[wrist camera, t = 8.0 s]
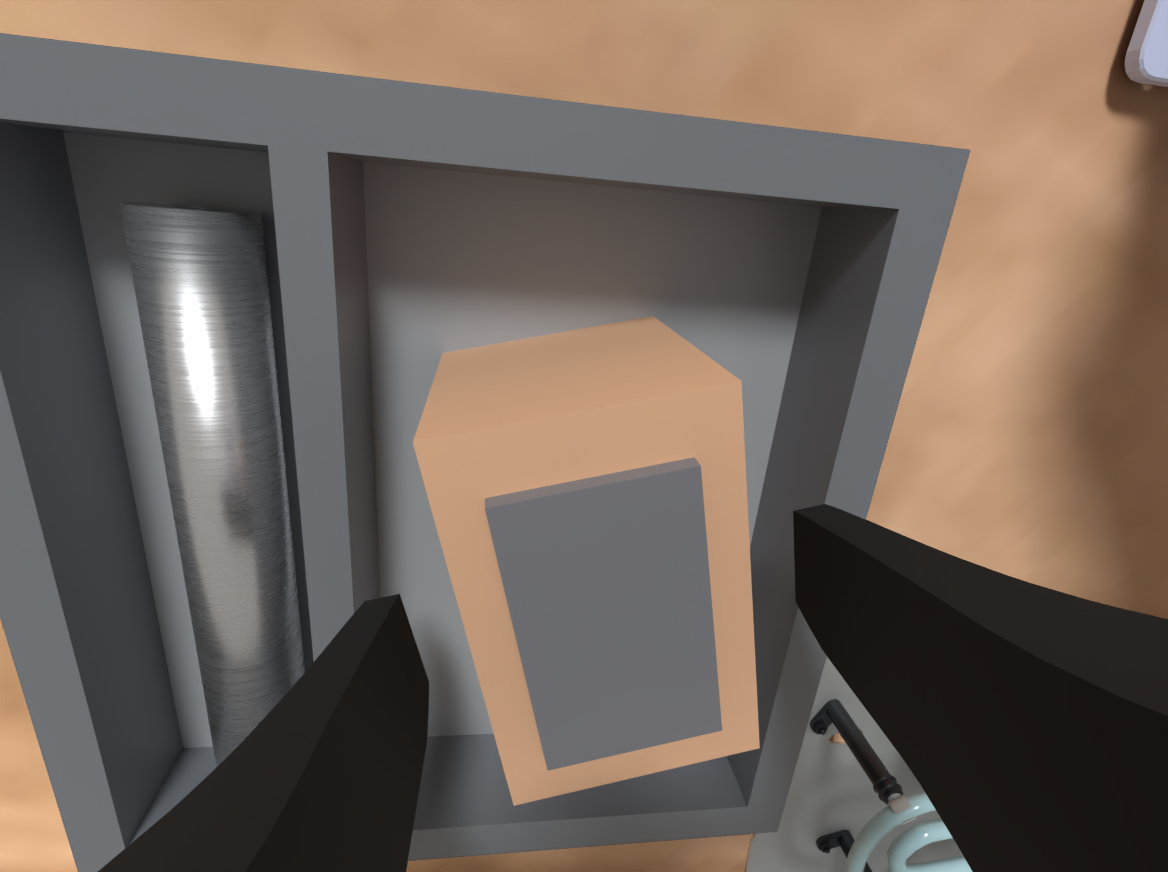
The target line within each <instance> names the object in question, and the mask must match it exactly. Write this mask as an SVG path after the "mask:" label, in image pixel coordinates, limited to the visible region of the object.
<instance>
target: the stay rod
mask: <svg viewBox="0 0 1168 872" xmlns="http://www.w3.org/2000/svg"><path fill="white" fill-rule="evenodd" d="M120 207H121V213H122V219H123V225H124V231H125V236H126V242H127V248H128V254H129V260H130V266H131V271H132V277H133V283H134V289H135V295H136V301H137V306H138V312H139V318H140V324H141V330H142V336H143V341H144V347H145V353H146V359H147V365H148V371H149V376H150V382H151V388H152V394H153V400H154V406H155V411H156V417H157V423H158V429H159V435H160V441H161V446H162V452H163V458H164V464H165V470H166V476H167V481H168V487H169V493H170V499H171V505H172V511H173V516H174V522H175V528H176V534H177V540H178V546H179V551H180V557H181V563H182V569H183V575H184V581H185V586H186V592H187V598H188V604H189V610H190V616H191V622H192V627H193V633H194V639H195V645H196V651H197V657H198V662H199V668H200V674H201V680H202V686H203V692H204V697H205V703H206V709H207V715H208V721H209V727H210V732H211V738H212V744H213V750H214V756H215V762H216V766H218V765H219V764H220V763H222V762H223V761H224V760H225V759H226V758H227V757H228V756H229V755H230V754H231V753H232V752H233V751H234V750H235V749H236V748H237V747H238V746H239V744H240V743H241V742H242V741H243V740H244V739H245V738H246V737H247V736H248V735H249V734H250V733H251V732H252V731H253V730H254V729H255V727H256V726H257V725H258V724H259V723H260V722H261V721H262V720H263V719H264V718H265V717H266V715H267V714H268V713H269V712H270V711H271V710H272V709H273V708H274V707H275V706H276V705H277V703H278V702H279V701H280V700H281V699H282V698H283V697H284V696H285V695H286V694H287V693H288V692H289V690H290V689H291V688H292V687H293V686H294V685H295V684H296V682H297V681H298V680H299V679H300V678H301V676H302V675H303V674H304V673H305V667H304V656H303V646H302V635H301V625H300V614H299V603H298V593H297V582H296V572H295V561H294V551H293V540H292V529H291V519H290V508H289V498H288V487H287V477H286V466H285V456H284V445H283V434H282V424H281V413H280V403H279V392H278V382H277V371H276V360H275V350H274V339H273V329H272V318H271V308H270V297H269V286H268V276H267V265H266V255H265V244H264V234H263V223H262V213H261V212H258V211H251V210H243V209H234V208H223V207H211V206H198V205H183V204H165V203H140V202H124V203H120Z"/></svg>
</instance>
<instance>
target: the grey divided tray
mask: <svg viewBox="0 0 1168 872" xmlns="http://www.w3.org/2000/svg"><path fill="white" fill-rule="evenodd" d="M969 153H970V150H968V149H959V148H951V147H943V146H934V145H926V144H918V143H909V142H901V141H893V140H884V139H876V138H868V137H860V136H851V135H843V134H835V133H826V132H818V131H810V130H801V129H793V128H785V127H776V126H768V125H760V124H751V123H743V122H735V121H727V120H718V119H710V118H702V117H693V116H685V115H677V114H668V113H660V112H652V111H643V110H635V109H627V108H618V107H610V106H602V105H594V104H585V103H577V102H569V101H560V100H552V99H544V98H535V97H527V96H519V95H510V94H502V93H494V92H485V91H477V90H469V89H461V88H452V87H444V86H436V85H427V84H419V83H411V82H402V81H394V80H386V79H377V78H369V77H361V76H352V75H344V74H336V73H328V72H319V71H311V70H303V69H294V68H286V67H278V66H269V65H261V64H253V63H244V62H236V61H228V60H219V59H211V58H203V57H195V56H186V55H178V54H170V53H161V52H153V51H145V50H136V49H128V48H120V47H111V46H103V45H95V44H86V43H78V42H70V41H61V40H53V39H45V38H37V37H28V36H20V35H12V34H3V33H0V618H1V622H2V625H3V628H4V631H5V635H6V638H7V641H8V645H9V648H10V651H11V654H12V658H13V661H14V664H15V667H16V671H17V674H18V677H19V680H20V684H21V687H22V690H23V694H24V697H25V700H26V703H27V707H28V710H29V713H30V716H31V720H32V723H33V726H34V729H35V733H36V736H37V739H38V743H39V746H40V749H41V752H42V756H43V759H44V762H45V765H46V769H47V772H48V775H49V778H50V782H51V785H52V788H53V791H54V795H55V798H56V801H57V805H58V808H59V811H60V814H61V818H62V821H63V824H64V827H65V831H66V834H67V837H68V840H69V844H70V847H71V850H72V854H73V857H74V860H75V863H76V867H77V870H78V872H98V871H99V870H100V869H101V868H103V867H104V866H105V865H106V864H107V863H109V862H110V861H111V860H112V859H113V858H115V857H116V856H117V855H118V854H119V853H120V852H122V851H123V850H124V849H125V848H126V847H128V846H129V845H130V844H131V843H132V842H133V841H135V840H136V839H137V838H138V837H139V836H141V835H142V834H143V833H144V832H145V831H147V830H148V829H149V828H150V827H151V826H152V825H154V824H155V823H156V822H157V821H158V820H160V819H161V818H162V817H163V816H164V815H165V814H167V813H168V812H169V811H170V810H171V809H172V808H173V807H175V806H176V805H177V804H178V803H179V802H180V801H181V800H182V799H183V798H185V797H186V796H187V795H188V794H189V793H190V792H191V791H192V790H193V789H194V788H195V787H196V786H197V785H198V784H199V783H201V782H202V781H203V780H204V779H205V778H206V777H207V776H208V775H209V774H210V773H211V772H212V771H213V770H214V769H215V768H216V767H217V766H216V762H215V756H214V750H213V744H212V738H211V732H210V727H209V721H208V715H207V709H206V703H205V697H204V692H203V686H202V680H201V674H200V668H199V662H198V657H197V651H196V645H195V639H194V633H193V627H192V622H191V616H190V610H189V604H188V598H187V592H186V586H185V581H184V575H183V569H182V563H181V557H180V551H179V546H178V540H177V534H176V528H175V522H174V516H173V511H172V505H171V499H170V493H169V487H168V481H167V476H166V470H165V464H164V458H163V452H162V446H161V441H160V435H159V429H158V423H157V417H156V411H155V406H154V400H153V394H152V388H151V382H150V376H149V371H148V365H147V359H146V353H145V347H144V341H143V336H142V330H141V324H140V318H139V312H138V306H137V301H136V295H135V289H134V283H133V277H132V271H131V266H130V260H129V254H128V248H127V242H126V236H125V231H124V225H123V219H122V213H121V207H120V203H124V202H140V203H165V204H183V205H198V206H211V207H223V208H234V209H243V210H251V211H258V212H261V213H262V223H263V234H264V244H265V255H266V265H267V276H268V286H269V297H270V308H271V318H272V329H273V339H274V350H275V360H276V371H277V382H278V392H279V403H280V413H281V424H282V434H283V445H284V456H285V466H286V477H287V487H288V498H289V508H290V519H291V529H292V540H293V551H294V561H295V572H296V582H297V593H298V603H299V614H300V625H301V635H302V646H303V656H304V667H305V672H306V671H307V669H308V668H309V667H310V666H311V665H312V663H313V662H314V661H315V660H316V659H317V657H318V656H319V655H320V654H321V653H322V652H323V650H324V649H325V648H326V647H327V646H328V644H329V643H330V642H331V641H332V639H333V638H334V637H335V636H336V635H337V633H338V632H339V631H340V630H341V628H342V627H343V626H344V625H345V624H346V622H347V621H348V620H349V619H350V618H351V616H352V615H353V614H354V613H355V612H356V610H357V609H358V608H359V607H360V606H361V605H362V604H363V603H364V602H365V601H368V600H372V599H377V598H382V597H387V596H391V595H396V594H400V596H401V599H402V602H403V605H404V608H405V611H406V614H407V617H408V620H409V623H410V626H411V629H412V632H413V635H414V638H415V641H416V644H417V647H418V650H419V653H420V656H421V659H422V662H423V665H424V668H425V671H426V674H427V677H428V680H429V715H428V736H427V744H426V751H425V758H424V764H423V770H422V777H421V783H420V789H419V795H418V801H417V807H416V814H415V820H414V826H413V832H412V838H411V844H410V850H409V856H408V861H412V860H425V859H437V858H450V857H463V856H476V855H489V854H501V853H514V852H527V851H540V850H553V849H565V848H578V847H591V846H604V845H616V844H629V843H642V842H655V841H668V840H680V839H693V838H706V837H719V836H732V835H744V834H757V833H770V832H777V831H778V828H779V824H780V821H781V817H782V814H783V810H784V807H785V803H786V799H787V796H788V792H789V789H790V785H791V782H792V778H793V775H794V771H795V768H796V764H797V761H798V757H799V754H800V750H801V746H802V743H803V739H804V736H805V732H806V729H807V725H808V722H809V718H810V715H811V711H812V708H813V704H814V701H815V697H816V693H817V690H818V686H819V683H820V679H821V676H822V672H823V669H824V665H825V662H826V658H827V656H826V654H825V653H824V651H823V650H822V649H821V647H820V645H819V643H818V642H817V640H816V638H815V636H814V635H813V633H812V631H811V629H810V628H809V626H808V624H807V622H806V620H805V618H804V616H803V615H802V613H801V611H800V609H799V607H798V605H797V603H796V602H795V565H794V527H793V511H794V510H799V509H803V508H808V507H813V506H818V505H822V504H827V505H830V506H833V507H836V508H838V509H841V510H843V511H846V512H848V513H851V514H853V515H856V516H858V517H861V518H863V519H865V520H866V517H867V513H868V510H869V506H870V503H871V499H872V496H873V492H874V489H875V485H876V482H877V478H878V474H879V471H880V467H881V464H882V460H883V457H884V453H885V450H886V446H887V443H888V439H889V436H890V432H891V429H892V425H893V422H894V418H895V414H896V411H897V407H898V404H899V400H900V397H901V393H902V390H903V386H904V383H905V379H906V376H907V372H908V369H909V365H910V361H911V358H912V354H913V351H914V347H915V344H916V340H917V337H918V333H919V330H920V326H921V323H922V319H923V316H924V312H925V308H926V305H927V301H928V298H929V294H930V291H931V287H932V284H933V280H934V277H935V273H936V270H937V266H938V263H939V259H940V255H941V252H942V248H943V245H944V241H945V238H946V234H947V231H948V227H949V224H950V220H951V217H952V213H953V210H954V206H955V203H956V199H957V195H958V192H959V188H960V185H961V181H962V178H963V174H964V171H965V167H966V164H967V160H968V157H969ZM650 316H654V317H655V318H656V319H658V320H659V321H660V322H662V323H663V324H665V325H666V326H667V327H669V328H670V329H671V330H673V331H674V332H675V333H677V334H678V335H680V336H681V337H682V338H684V339H685V340H686V341H688V342H689V343H690V344H692V345H693V346H695V347H696V348H697V349H699V350H700V351H701V352H703V353H704V354H705V355H707V356H708V357H709V358H711V359H712V360H714V361H715V362H716V363H718V364H719V365H720V366H722V367H723V368H724V369H726V370H727V371H729V372H730V373H731V374H733V375H734V376H735V377H737V378H738V379H739V380H741V381H742V400H743V421H744V441H745V461H746V481H747V501H748V522H749V542H750V562H751V582H752V602H753V623H754V643H755V663H756V683H757V703H758V724H759V744H760V748H758V749H754V750H750V751H746V752H741V753H737V754H733V755H729V756H724V757H720V758H716V759H711V760H707V761H703V762H699V763H694V764H690V765H686V766H682V767H677V768H673V769H669V770H664V771H660V772H656V773H652V774H647V775H643V776H639V777H635V778H630V779H626V780H622V781H617V782H613V783H609V784H605V785H600V786H596V787H592V788H588V789H583V790H579V791H575V792H570V793H566V794H562V795H558V796H553V797H549V798H545V799H541V800H536V801H532V802H528V803H523V804H519V805H515V806H514V805H513V801H512V798H511V794H510V791H509V787H508V783H507V780H506V776H505V773H504V769H503V765H502V762H501V758H500V755H499V751H498V747H497V744H496V740H495V737H494V733H493V730H492V726H491V722H490V719H489V715H488V712H487V708H486V704H485V701H484V697H483V694H482V690H481V686H480V683H479V679H478V676H477V672H476V668H475V665H474V661H473V658H472V654H471V650H470V647H469V643H468V640H467V636H466V632H465V629H464V625H463V622H462V618H461V615H460V611H459V607H458V604H457V600H456V597H455V593H454V589H453V586H452V582H451V579H450V575H449V571H448V568H447V564H446V561H445V557H444V553H443V550H442V546H441V543H440V539H439V535H438V532H437V528H436V525H435V521H434V517H433V514H432V510H431V507H430V503H429V500H428V496H427V492H426V489H425V485H424V482H423V478H422V474H421V471H420V467H419V464H418V460H417V456H416V453H415V449H414V446H413V440H414V437H415V434H416V431H417V428H418V425H419V422H420V419H421V416H422V413H423V410H424V407H425V404H426V401H427V398H428V395H429V392H430V389H431V386H432V383H433V380H434V377H435V374H436V371H437V368H438V365H439V362H440V359H441V356H442V353H447V352H452V351H458V350H463V349H469V348H475V347H480V346H486V345H492V344H497V343H503V342H509V341H514V340H520V339H526V338H531V337H537V336H542V335H548V334H554V333H559V332H565V331H571V330H576V329H582V328H588V327H593V326H599V325H605V324H610V323H616V322H621V321H627V320H633V319H638V318H644V317H650Z"/></svg>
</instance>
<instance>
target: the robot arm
mask: <svg viewBox="0 0 1168 872" xmlns="http://www.w3.org/2000/svg"><path fill="white" fill-rule="evenodd" d="M1124 63H1125V71H1126V74H1127V75H1128V77H1129V78H1130V80H1133V81H1135V82H1137V83H1143V84H1150V85H1156V86H1163V87H1168V0H1145V1H1144V4H1143V6H1142V9H1141V12H1140V15H1139V18H1138V21H1137V24H1136V27H1135V29H1134V32H1133V35H1132V38H1131V41H1130V44H1129V47H1128V50H1127V52H1126V57H1125V62H1124ZM793 527H794V565H795V602H796V603H797V605H798V607H799V609H800V611H801V613H802V615H803V616H804V618H805V620H806V622H807V624H808V626H809V628H810V629H811V631H812V633H813V635H814V636H815V638H816V640H817V642H818V643H819V645H820V647H821V649H822V650H823V651H824V653H825V654H826V656H827V657H828V658H829V660H830V661H831V663H832V664H833V665H834V667H835V668H836V669H837V671H838V672H839V673H840V675H841V676H842V678H843V679H844V680H845V682H846V683H847V684H848V686H849V687H850V688H851V690H852V691H853V693H854V694H855V695H856V697H857V698H858V699H859V701H860V702H861V703H862V705H863V706H864V707H865V709H866V710H867V711H868V713H869V714H870V715H871V717H872V718H873V719H874V721H875V722H876V723H877V725H878V726H879V727H880V729H881V730H882V731H883V733H884V734H885V735H886V737H887V738H888V740H889V741H890V742H891V744H892V745H893V746H894V748H895V749H896V750H897V752H898V753H899V754H900V756H901V757H902V758H903V760H904V761H905V763H906V764H907V766H908V767H909V769H910V770H911V772H912V773H913V775H914V776H915V777H916V779H917V780H918V782H919V783H920V785H921V786H922V788H923V790H924V791H925V793H926V795H927V796H928V798H929V800H930V801H931V803H932V805H933V806H934V808H935V809H936V811H937V813H938V814H939V816H940V818H941V819H942V821H943V823H944V824H945V826H946V828H947V829H948V831H949V832H950V834H951V836H952V837H953V839H954V841H955V842H956V844H957V846H958V847H959V849H960V851H961V853H962V854H963V856H964V858H965V860H966V861H967V863H968V865H969V866H970V868H971V870H972V872H1168V619H1164V618H1159V617H1155V616H1151V615H1147V614H1142V613H1138V612H1134V611H1129V610H1125V609H1121V608H1117V607H1113V606H1109V605H1105V604H1101V603H1097V602H1093V601H1090V600H1086V599H1082V598H1079V597H1076V596H1072V595H1069V594H1065V593H1062V592H1059V591H1055V590H1052V589H1048V588H1045V587H1042V586H1038V585H1035V584H1032V583H1028V582H1025V581H1022V580H1019V579H1016V578H1013V577H1010V576H1007V575H1004V574H1001V573H999V572H996V571H993V570H990V569H988V568H985V567H982V566H979V565H976V564H974V563H971V562H968V561H965V560H963V559H960V558H958V557H955V556H952V555H950V554H947V553H945V552H942V551H940V550H937V549H935V548H932V547H930V546H927V545H925V544H922V543H920V542H917V541H915V540H913V539H910V538H908V537H905V536H903V535H901V534H898V533H896V532H894V531H891V530H889V529H887V528H884V527H882V526H879V525H877V524H875V523H872V522H870V521H868V520H865V519H863V518H861V517H858V516H856V515H853V514H851V513H848V512H846V511H843V510H841V509H838V508H836V507H833V506H830V505H827V504H822V505H818V506H813V507H808V508H803V509H799V510H794V511H793ZM428 715H429V680H428V677H427V674H426V671H425V668H424V665H423V662H422V659H421V656H420V653H419V650H418V647H417V644H416V641H415V638H414V635H413V632H412V629H411V626H410V623H409V620H408V617H407V614H406V611H405V608H404V605H403V602H402V599H401V596H400V594H396V595H391V596H387V597H382V598H377V599H372V600H368V601H365V602H364V603H363V604H362V605H361V606H360V607H359V608H358V609H357V610H356V612H355V613H354V614H353V615H352V616H351V618H350V619H349V620H348V621H347V622H346V624H345V625H344V626H343V627H342V628H341V630H340V631H339V632H338V633H337V635H336V636H335V637H334V638H333V639H332V641H331V642H330V643H329V644H328V646H327V647H326V648H325V649H324V650H323V652H322V653H321V654H320V655H319V656H318V657H317V659H316V660H315V661H314V662H313V663H312V665H311V666H310V667H309V668H308V669H307V671H306V672H305V673H304V674H303V675H302V676H301V678H300V679H299V680H298V681H297V682H296V684H295V685H294V686H293V687H292V688H291V689H290V690H289V692H288V693H287V694H286V695H285V696H284V697H283V698H282V699H281V700H280V701H279V702H278V703H277V705H276V706H275V707H274V708H273V709H272V710H271V711H270V712H269V713H268V714H267V715H266V717H265V718H264V719H263V720H262V721H261V722H260V723H259V724H258V725H257V726H256V727H255V729H254V730H253V731H252V732H251V733H250V734H249V735H248V736H247V737H246V738H245V739H244V740H243V741H242V742H241V743H240V744H239V746H238V747H237V748H236V749H235V750H234V751H233V752H232V753H231V754H230V755H229V756H228V757H227V758H226V759H225V760H224V761H223V762H222V763H220V764H219V765H218V766H217V767H216V768H215V769H214V770H213V771H212V772H211V773H210V774H209V775H208V776H207V777H206V778H205V779H204V780H203V781H202V782H201V783H199V784H198V785H197V786H196V787H195V788H194V789H193V790H192V791H191V792H190V793H189V794H188V795H187V796H186V797H185V798H183V799H182V800H181V801H180V802H179V803H178V804H177V805H176V806H175V807H173V808H172V809H171V810H170V811H169V812H168V813H167V814H165V815H164V816H163V817H162V818H161V819H160V820H158V821H157V822H156V823H155V824H154V825H152V826H151V827H150V828H149V829H148V830H147V831H145V832H144V833H143V834H142V835H141V836H139V837H138V838H137V839H136V840H135V841H133V842H132V843H131V844H130V845H129V846H128V847H126V848H125V849H124V850H123V851H122V852H120V853H119V854H118V855H117V856H116V857H115V858H113V859H112V860H111V861H110V862H109V863H107V864H106V865H105V866H104V867H103V868H101V869H100V870H99V871H98V872H406V868H407V862H408V856H409V850H410V844H411V838H412V832H413V826H414V820H415V814H416V807H417V801H418V795H419V789H420V783H421V777H422V770H423V764H424V758H425V751H426V744H427V736H428Z"/></svg>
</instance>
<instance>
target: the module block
mask: <svg viewBox="0 0 1168 872" xmlns="http://www.w3.org/2000/svg"><path fill="white" fill-rule="evenodd" d="M413 446H414V449H415V453H416V456H417V460H418V464H419V467H420V471H421V474H422V478H423V482H424V485H425V489H426V492H427V496H428V500H429V503H430V507H431V510H432V514H433V517H434V521H435V525H436V528H437V532H438V535H439V539H440V543H441V546H442V550H443V553H444V557H445V561H446V564H447V568H448V571H449V575H450V579H451V582H452V586H453V589H454V593H455V597H456V600H457V604H458V607H459V611H460V615H461V618H462V622H463V625H464V629H465V632H466V636H467V640H468V643H469V647H470V650H471V654H472V658H473V661H474V665H475V668H476V672H477V676H478V679H479V683H480V686H481V690H482V694H483V697H484V701H485V704H486V708H487V712H488V715H489V719H490V722H491V726H492V730H493V733H494V737H495V740H496V744H497V747H498V751H499V755H500V758H501V762H502V765H503V769H504V773H505V776H506V780H507V783H508V787H509V791H510V794H511V798H512V801H513V805H514V806H515V805H519V804H523V803H528V802H532V801H536V800H541V799H545V798H549V797H553V796H558V795H562V794H566V793H570V792H575V791H579V790H583V789H588V788H592V787H596V786H600V785H605V784H609V783H613V782H617V781H622V780H626V779H630V778H635V777H639V776H643V775H647V774H652V773H656V772H660V771H664V770H669V769H673V768H677V767H682V766H686V765H690V764H694V763H699V762H703V761H707V760H711V759H716V758H720V757H724V756H729V755H733V754H737V753H741V752H746V751H750V750H754V749H758V748H760V744H759V724H758V703H757V683H756V663H755V643H754V623H753V602H752V582H751V562H750V542H749V522H748V501H747V481H746V461H745V441H744V421H743V400H742V381H741V380H739V379H738V378H737V377H735V376H734V375H733V374H731V373H730V372H729V371H727V370H726V369H724V368H723V367H722V366H720V365H719V364H718V363H716V362H715V361H714V360H712V359H711V358H709V357H708V356H707V355H705V354H704V353H703V352H701V351H700V350H699V349H697V348H696V347H695V346H693V345H692V344H690V343H689V342H688V341H686V340H685V339H684V338H682V337H681V336H680V335H678V334H677V333H675V332H674V331H673V330H671V329H670V328H669V327H667V326H666V325H665V324H663V323H662V322H660V321H659V320H658V319H656V318H655V317H654V316H650V317H644V318H638V319H633V320H627V321H621V322H616V323H610V324H605V325H599V326H593V327H588V328H582V329H576V330H571V331H565V332H559V333H554V334H548V335H542V336H537V337H531V338H526V339H520V340H514V341H509V342H503V343H497V344H492V345H486V346H480V347H475V348H469V349H463V350H458V351H452V352H447V353H442V356H441V359H440V362H439V365H438V368H437V371H436V374H435V377H434V380H433V383H432V386H431V389H430V392H429V395H428V398H427V401H426V404H425V407H424V410H423V413H422V416H421V419H420V422H419V425H418V428H417V431H416V434H415V437H414V440H413Z"/></svg>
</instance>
